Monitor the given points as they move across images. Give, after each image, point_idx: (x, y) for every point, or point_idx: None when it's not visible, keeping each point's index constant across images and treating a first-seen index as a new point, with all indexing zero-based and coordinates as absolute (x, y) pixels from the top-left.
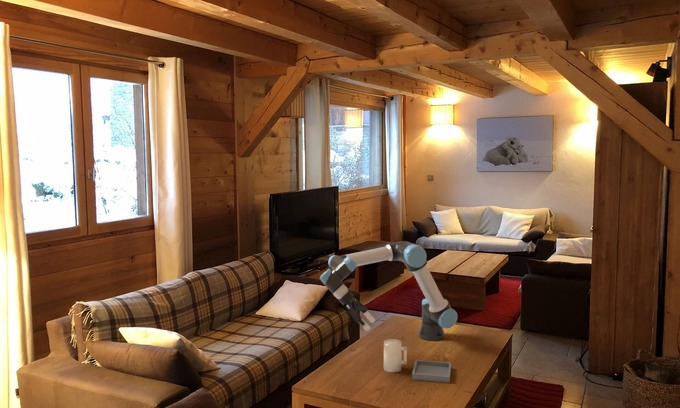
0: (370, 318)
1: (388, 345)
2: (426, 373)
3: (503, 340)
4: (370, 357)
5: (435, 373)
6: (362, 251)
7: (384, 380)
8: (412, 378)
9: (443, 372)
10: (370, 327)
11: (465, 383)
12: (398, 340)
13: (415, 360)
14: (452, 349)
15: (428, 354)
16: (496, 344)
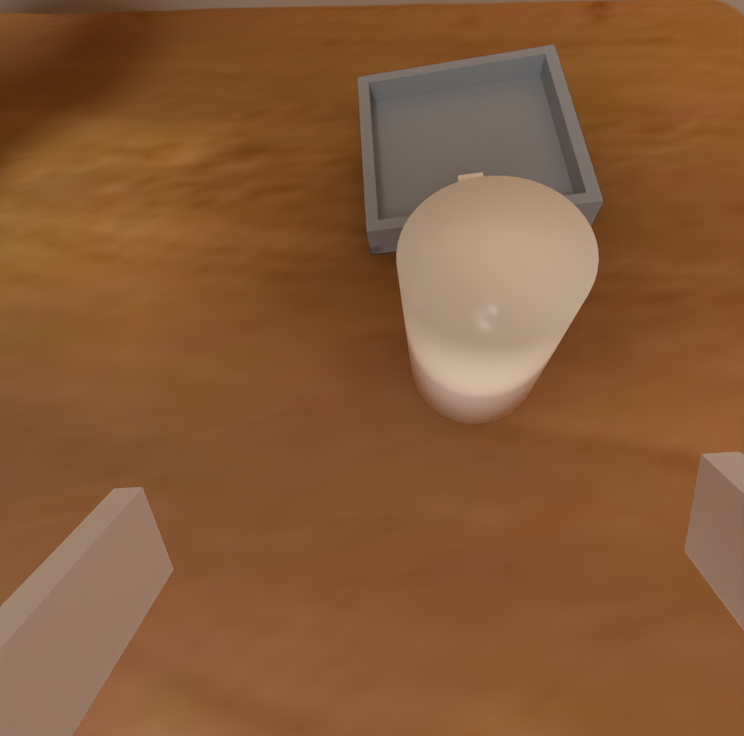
0: (98, 614)
1: (594, 272)
2: (499, 168)
3: (3, 16)
4: (303, 574)
5: (480, 133)
6: None
7: (684, 371)
8: (591, 220)
9: (452, 106)
10: (715, 460)
11: (515, 32)
12: (420, 216)
13: (380, 229)
14: (111, 148)
15: (190, 230)
16: (47, 26)
